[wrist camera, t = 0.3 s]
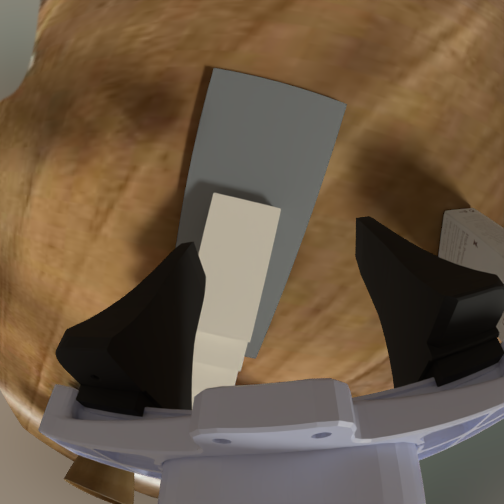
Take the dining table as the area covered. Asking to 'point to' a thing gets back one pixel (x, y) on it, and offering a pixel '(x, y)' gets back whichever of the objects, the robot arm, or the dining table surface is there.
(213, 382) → the domino
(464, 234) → the skincare box
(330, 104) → the domino board
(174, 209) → the dining table surface
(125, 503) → the plant pot
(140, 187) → the dining table surface
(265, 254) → the domino
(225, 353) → the domino
